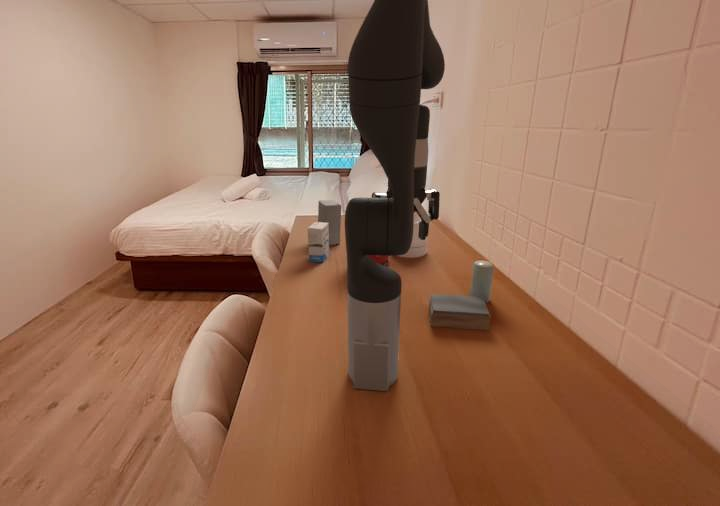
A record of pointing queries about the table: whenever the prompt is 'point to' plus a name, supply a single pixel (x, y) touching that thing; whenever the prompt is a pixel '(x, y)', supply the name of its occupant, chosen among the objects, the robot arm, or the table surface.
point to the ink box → (318, 242)
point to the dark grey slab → (458, 312)
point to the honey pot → (416, 242)
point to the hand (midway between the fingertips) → (403, 240)
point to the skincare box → (331, 219)
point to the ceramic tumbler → (482, 279)
